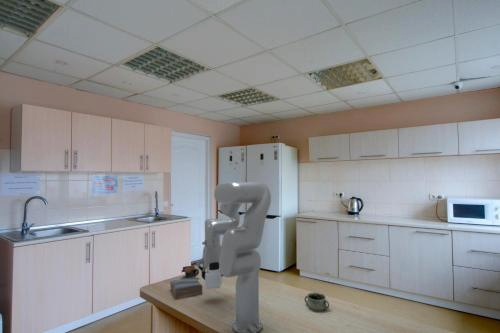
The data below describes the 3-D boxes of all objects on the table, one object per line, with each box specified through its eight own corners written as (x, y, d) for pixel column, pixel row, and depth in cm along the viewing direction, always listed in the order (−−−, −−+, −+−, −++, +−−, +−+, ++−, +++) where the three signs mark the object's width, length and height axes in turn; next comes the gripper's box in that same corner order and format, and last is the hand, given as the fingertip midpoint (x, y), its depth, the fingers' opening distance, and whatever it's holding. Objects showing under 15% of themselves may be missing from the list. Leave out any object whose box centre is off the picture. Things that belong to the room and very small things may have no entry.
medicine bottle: (221, 283, 146) (221, 259, 147) (219, 288, 139) (218, 263, 139) (208, 283, 146) (207, 260, 147) (205, 288, 139) (204, 264, 140)
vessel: (301, 310, 132) (300, 296, 133) (308, 302, 140) (307, 289, 140) (326, 316, 126) (326, 302, 126) (332, 308, 133) (332, 295, 134)
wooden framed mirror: (202, 294, 151) (202, 284, 151) (175, 299, 145) (175, 289, 145) (195, 285, 163) (195, 276, 163) (170, 289, 157) (170, 280, 157)
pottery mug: (177, 280, 170) (178, 266, 175) (185, 282, 178) (186, 269, 182) (195, 278, 168) (196, 263, 172) (203, 280, 175) (203, 266, 180)
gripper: (197, 246, 138) (198, 282, 137) (230, 242, 146) (231, 276, 145) (193, 243, 145) (194, 278, 144) (225, 240, 153) (226, 272, 152)
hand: (213, 277), depth 144 cm, fingers closed on medicine bottle, 9 cm apart
